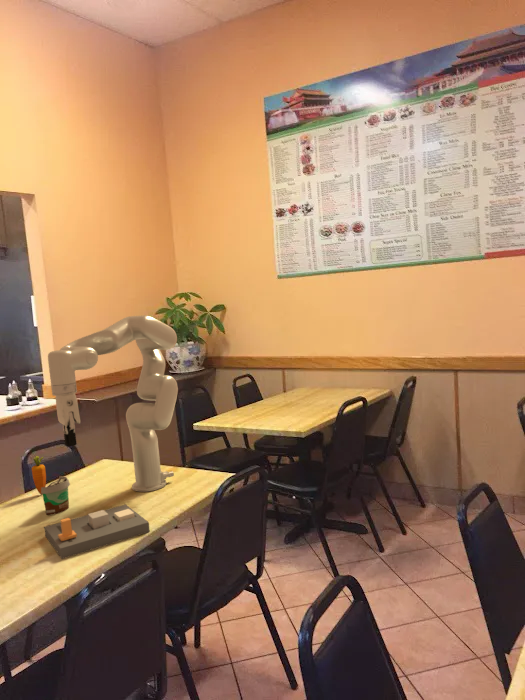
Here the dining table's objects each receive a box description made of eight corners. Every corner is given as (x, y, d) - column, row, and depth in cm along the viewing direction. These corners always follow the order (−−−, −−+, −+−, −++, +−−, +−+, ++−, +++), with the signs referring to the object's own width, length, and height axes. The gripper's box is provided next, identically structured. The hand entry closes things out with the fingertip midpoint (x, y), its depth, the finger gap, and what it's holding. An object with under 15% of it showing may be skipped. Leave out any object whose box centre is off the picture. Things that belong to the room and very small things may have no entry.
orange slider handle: (73, 532, 173) (71, 515, 172) (76, 536, 170) (74, 519, 169) (58, 537, 170) (56, 520, 170) (61, 541, 167) (59, 523, 167)
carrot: (36, 493, 222) (32, 454, 220) (50, 491, 222) (45, 453, 221) (32, 497, 217) (27, 458, 216) (46, 496, 218) (41, 457, 216)
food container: (60, 516, 196) (57, 487, 195) (43, 516, 197) (40, 487, 196) (79, 502, 208) (75, 475, 207) (63, 502, 209) (60, 475, 208)
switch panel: (126, 513, 194) (125, 504, 194) (149, 531, 177) (148, 521, 177) (45, 536, 180) (44, 526, 180) (61, 558, 163) (60, 548, 163)
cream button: (130, 520, 187) (128, 508, 186) (135, 525, 183) (134, 512, 182) (115, 525, 184) (114, 512, 184) (120, 529, 180) (119, 517, 180)
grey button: (104, 522, 182) (103, 509, 182) (109, 526, 178) (108, 514, 178) (89, 526, 180) (87, 514, 179) (94, 531, 176) (92, 518, 175)
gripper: (82, 389, 182) (89, 447, 184) (70, 385, 194) (76, 439, 196) (58, 393, 178) (65, 452, 180) (46, 388, 190) (53, 443, 192)
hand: (71, 445), depth 188 cm, fingers closed
